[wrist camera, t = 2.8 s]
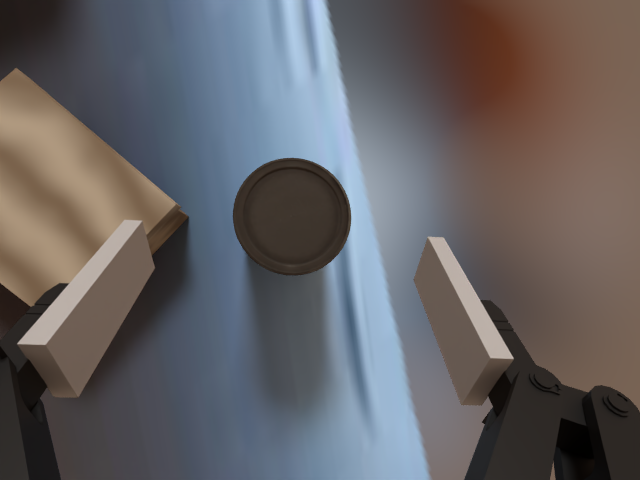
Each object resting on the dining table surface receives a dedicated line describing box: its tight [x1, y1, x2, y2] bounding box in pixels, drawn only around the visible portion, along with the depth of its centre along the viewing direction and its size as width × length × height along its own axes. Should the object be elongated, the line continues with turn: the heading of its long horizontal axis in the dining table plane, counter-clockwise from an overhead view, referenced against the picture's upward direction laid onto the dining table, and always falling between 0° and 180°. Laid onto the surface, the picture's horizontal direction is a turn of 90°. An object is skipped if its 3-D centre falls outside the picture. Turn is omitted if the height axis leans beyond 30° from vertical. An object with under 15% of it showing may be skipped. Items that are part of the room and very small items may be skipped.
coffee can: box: [233, 158, 351, 275], centre depth 36 cm, size 10×10×14 cm
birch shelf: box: [0, 68, 188, 307], centre depth 35 cm, size 16×20×7 cm
